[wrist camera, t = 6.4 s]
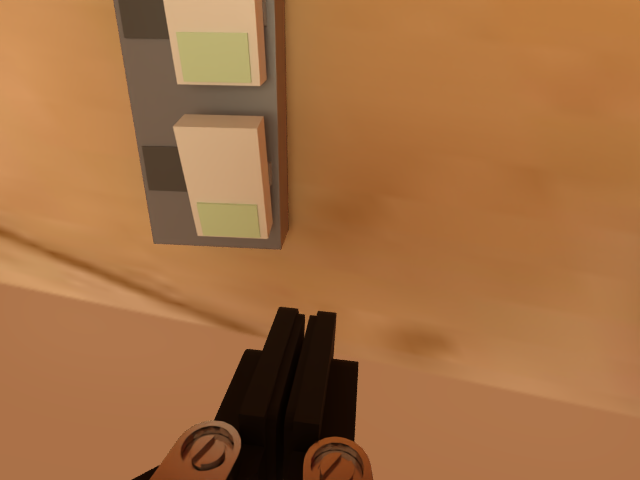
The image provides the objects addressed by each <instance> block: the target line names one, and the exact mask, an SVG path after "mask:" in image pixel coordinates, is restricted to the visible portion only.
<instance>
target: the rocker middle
mask: <svg viewBox="0 0 640 480" xmlns="http://www.w3.org/2000/svg"><path fill="white" fill-rule="evenodd" d="M163 2H164V8H165V14H166V20H167V26H168V32H169V38H170V44H171V50H172V56H173V62H174V67H175V73H176V79H177V84H189V85H235V86H261V85H262V84H263V83H264V82H265V81H266V80H267V76H266V60H265V43H264V26H263V9H262V0H163Z"/></svg>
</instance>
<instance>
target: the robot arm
mask: <svg viewBox="0 0 640 480" xmlns="http://www.w3.org/2000/svg"><path fill="white" fill-rule="evenodd" d="M335 328H336V313H332V312H323V311H318V312H317V316H313V315H310V317H309V321H308V325H307V329H306V333H305V337H304V330H305V315H304V314H299V311H298V309H295V308H286V307H279V309H278V311H277V314H276V316H275V319H274V322H273V324H272V327H271V330H270V332H269V335H268V338H267V340H266V343H265V345H264V348H263V351H261V350H253V349H246V350H245V352H244V354H243V356H242V358H241V361H240V363H239V365H238V367H237V369H236V372H235V374H234V376H233V379H232V381H231V383H230V385H229V388H228V390H227V392H226V394H225V397H224V399H223V401H222V403H221V406H220V408H219V410H218V413H217V415H216V417H215V419H214V420H213V421H206V422H202V423H199V424H196V425H194V426H192V427H191V428H189V429H188V430H186V431H185V432H184V433H183V434H182V435H181V436H180V437H179V438H178V440H177V441H176V443H175V444H174V446H173V447H172V449H171V450H170V451H169V453H168V454H167V456H166V457H165V458H164V460H163V461H162V463H161V464H160V465H159V466H157V467H155V468H154V469H151V470H149V471H147V472H145V473H144V474H142V475H140V476H138V477H136V478H134V479H132V480H373V475H372V469H371V464H370V461H369V458H368V456H367V454H366V453H365V451H364V450H363V449H362V448H361V447H360V446H359V445H358V444H356V443H355V442H354V437H355V418H356V399H357V398H356V397H357V380H358V379H357V378H358V362H355V361H347V360H338V359H333V355H334V341H335Z"/></svg>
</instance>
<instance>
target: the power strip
mask: <svg viewBox="0 0 640 480" xmlns="http://www.w3.org/2000/svg"><path fill="white" fill-rule="evenodd" d="M113 1H114V7H115V13H116V19H117V25H118V31H119V37H120V43H121V49H122V55H123V61H124V67H125V73H126V79H127V85H128V91H129V97H130V103H131V109H132V115H133V121H134V127H135V133H136V139H137V145H138V151H139V157H140V163H141V169H142V175H143V181H144V188H145V194H146V200H147V206H148V212H149V218H150V224H151V230H152V236H153V242H154V244H173V245H194V246H216V247H237V248H259V249H280V250H281V248H282V245H283V243H284V240H285V237H286V235H287V232H288V229H289V227H288V171H287V115H286V59H285V3H284V0H262V9H263V26H264V43H265V60H266V76H267V80H266V81H265V82H264V83H263V84H262V85H261V86H235V85H189V84H177V79H176V73H175V67H174V62H173V56H172V50H171V44H170V38H169V32H168V26H167V20H166V14H165V8H164V2H163V0H113ZM184 114H201V115H239V116H263V117H264V128H265V140H266V151H267V162H268V174H269V185H270V197H271V208H272V220H273V223H272V227H271V230H270V234H269V237H268V239H258V238H236V237H213V236H198V235H197V231H196V226H195V222H194V217H193V213H192V209H191V204H190V200H189V195H188V191H187V187H186V182H185V178H184V173H183V169H182V164H181V160H180V156H179V151H178V147H177V142H176V138H175V134H174V129H173V126H174V125H175V124H176V123H177V121H178V120H179V119H180V118H181V117H182V116H183V115H184Z"/></svg>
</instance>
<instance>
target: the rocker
mask: <svg viewBox="0 0 640 480" xmlns="http://www.w3.org/2000/svg"><path fill="white" fill-rule="evenodd" d="M173 129H174V134H175V138H176V142H177V147H178V151H179V156H180V160H181V164H182V169H183V173H184V178H185V182H186V187H187V191H188V195H189V200H190V204H191V209H192V213H193V217H194V222H195V226H196V231H197V235H198V236H213V237H236V238H258V239H268V237H269V234H270V230H271V227H272V223H273V220H272V208H271V197H270V185H269V174H268V162H267V151H266V140H265V128H264V117H263V116H239V115H201V114H184V115H183V116H182V117H181V118H180V119H179V120H178V121H177V123H176V124H175V125H174V126H173Z"/></svg>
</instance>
